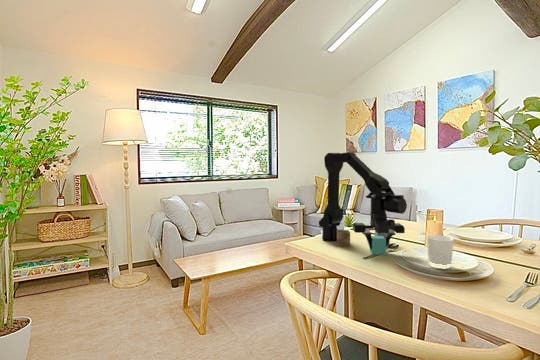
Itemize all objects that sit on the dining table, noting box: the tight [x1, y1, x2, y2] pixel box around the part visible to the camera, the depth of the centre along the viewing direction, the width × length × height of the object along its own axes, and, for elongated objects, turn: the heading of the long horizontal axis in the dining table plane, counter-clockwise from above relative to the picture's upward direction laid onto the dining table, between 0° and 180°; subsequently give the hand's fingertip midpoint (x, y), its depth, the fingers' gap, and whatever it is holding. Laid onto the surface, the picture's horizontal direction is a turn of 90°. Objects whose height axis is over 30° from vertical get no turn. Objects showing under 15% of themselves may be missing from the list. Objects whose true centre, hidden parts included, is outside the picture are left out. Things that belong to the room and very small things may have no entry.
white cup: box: [426, 234, 455, 265], centre depth 107 cm, size 8×8×10 cm
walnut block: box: [336, 229, 351, 248], centre depth 134 cm, size 5×5×6 cm
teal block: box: [369, 235, 387, 255], centre depth 123 cm, size 5×5×6 cm
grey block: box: [374, 230, 391, 247], centre depth 136 cm, size 5×5×6 cm
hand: (377, 249), depth 124 cm, fingers closed on teal block, 5 cm apart
